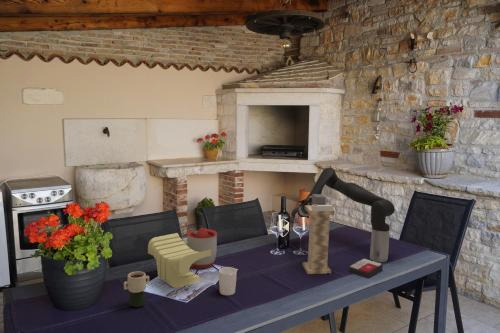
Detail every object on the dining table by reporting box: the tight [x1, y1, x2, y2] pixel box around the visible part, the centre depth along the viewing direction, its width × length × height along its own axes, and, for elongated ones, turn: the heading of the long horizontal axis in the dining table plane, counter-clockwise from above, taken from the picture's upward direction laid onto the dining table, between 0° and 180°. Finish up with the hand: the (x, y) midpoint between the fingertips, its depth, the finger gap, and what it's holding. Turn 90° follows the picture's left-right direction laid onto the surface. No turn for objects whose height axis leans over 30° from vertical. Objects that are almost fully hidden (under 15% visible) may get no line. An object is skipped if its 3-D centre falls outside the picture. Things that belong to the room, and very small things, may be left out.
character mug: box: [123, 270, 150, 308], centre depth 165 cm, size 11×7×13 cm, turn 130°
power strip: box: [311, 204, 334, 211], centre depth 199 cm, size 10×2×3 cm, turn 97°
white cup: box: [218, 266, 238, 296], centre depth 179 cm, size 8×8×10 cm
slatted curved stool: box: [147, 232, 211, 289], centre depth 190 cm, size 30×16×18 cm, turn 40°
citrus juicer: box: [186, 226, 218, 269], centre depth 210 cm, size 16×17×20 cm
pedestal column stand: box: [301, 205, 335, 275], centre depth 207 cm, size 12×12×32 cm
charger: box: [309, 193, 327, 205], centre depth 210 cm, size 5×16×6 cm, turn 7°
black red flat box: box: [348, 258, 384, 279], centre depth 207 cm, size 11×4×15 cm
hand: (314, 198), depth 212 cm, fingers closed on charger, 3 cm apart
